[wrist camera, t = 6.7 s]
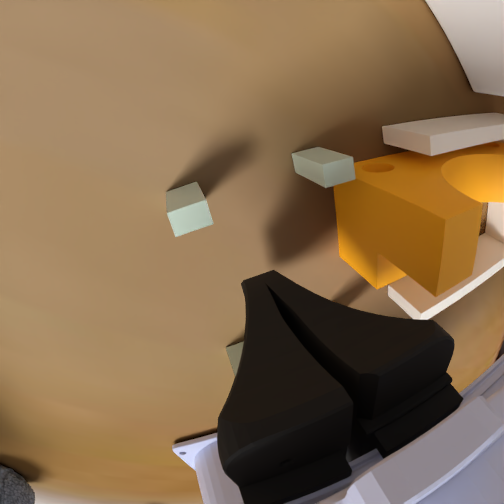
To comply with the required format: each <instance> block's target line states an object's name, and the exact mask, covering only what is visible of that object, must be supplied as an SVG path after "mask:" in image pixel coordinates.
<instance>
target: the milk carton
mask: <svg viewBox="0 0 504 504" xmlns="http://www.w3.org/2000/svg"><path fill="white" fill-rule="evenodd" d="M425 1H426V3H427V4H428V6H429V7H430V9H431V10H432V12H433V14H434V15H435V17H436V18H437V20H438V22H439V23H440V25H441V27H442V29H443V30H444V32H445V34H446V36H447V37H448V39H449V41H450V43H451V45H452V47H453V49H454V51H455V53H456V55H457V57H458V59H459V61H460V63H461V65H462V67H463V69H464V71H465V73H466V75H467V78H468V80H469V82H470V84H471V87H472V89H473V91H474V92H478V93H485V94H491V95H498V96H503V97H504V0H425Z"/></svg>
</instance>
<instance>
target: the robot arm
mask: <svg viewBox="0 0 504 504" xmlns="http://www.w3.org/2000/svg"><path fill="white" fill-rule="evenodd" d="M241 286H242V289H243V292H244V296H245V302H246V324H245V336H244V343H243V349H242V354H241V358H240V363H239V367H238V370H237V374H236V377H235V379H234V382H233V385H232V388H231V391H230V393H229V396H228V398H227V400H226V402H225V404H224V407H223V409H222V411H221V413H220V415H219V417H218V428H217V433H214V434H210V435H207V436H203V437H200V438H196V439H192V440H188V441H184V442H180V443H176V444H174V445H173V446H172V449H173V452H174V453H176V454H177V455H178V456H179V457H180V458H181V459H182V460H183V461H185V462H186V463H187V464H188V465H189V466H190V467H192V468H193V469H194V470H195V471H196V474H197V478H198V482H199V486H200V490H201V495H202V499H203V502H204V504H315V503H316V504H504V354H503V355H502V356H501V357H500V358H499V359H498V360H497V361H496V362H495V363H494V364H493V365H492V366H491V367H489V368H488V369H487V370H486V371H485V372H484V373H483V374H482V375H480V376H479V377H478V378H477V379H476V380H475V381H473V382H472V383H471V384H470V385H469V386H467V387H466V388H465V389H464V390H463V391H461V392H460V393H458V392H457V391H456V389H455V388H454V387H453V386H452V385H451V384H450V383H451V382H452V378H451V377H450V375H449V374H448V373H447V372H446V371H447V368H448V366H449V363H450V360H451V358H452V355H453V351H454V339H453V338H452V337H451V336H450V335H449V334H448V333H447V332H446V331H445V330H444V329H443V328H442V327H441V326H439V325H438V324H437V323H436V322H434V321H433V320H420V319H403V318H396V317H388V316H382V315H377V314H373V313H368V312H364V311H360V310H356V309H353V308H350V307H347V306H344V305H341V304H338V303H335V302H333V301H330V300H328V299H326V298H323V297H321V296H319V295H317V294H315V293H313V292H311V291H309V290H307V289H305V288H304V287H302V286H300V285H298V284H296V283H295V282H293V281H291V280H290V279H288V278H286V277H285V276H283V275H281V274H280V273H278V272H277V271H275V270H272V271H269V272H266V273H263V274H260V275H258V276H255V277H252V278H249V279H246V280H243V282H242V283H241Z"/></svg>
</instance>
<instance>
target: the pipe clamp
mask: <svg viewBox="0 0 504 504" xmlns="http://www.w3.org/2000/svg"><path fill="white" fill-rule="evenodd" d="M354 170H355V178H356V179H355V180H351V181H348V182H344V183H341V184H338V185H334V186H333V190H334V199H335V208H336V218H337V229H338V242H339V255H340V257H341V258H342V259H343V260H344V261H346V262H347V263H348V264H349V265H350V266H351V267H352V268H353V269H355V270H356V271H357V272H358V273H359V274H360V275H361V276H362V277H364V278H365V279H366V280H367V281H368V282H369V283H370V284H371V285H372V286H374V287H375V288H376V289H379V288H381V287H383V286H386V285H388V284H390V283H392V282H394V281H396V280H398V279H401V278H403V277H405V276H407V275H408V276H409V277H411V278H412V279H413V280H414V281H416V282H417V283H418V284H420V285H421V286H422V287H423V288H425V289H426V290H427V291H428V292H430V293H431V294H432V295H433V296H434V297H437V296H439V295H440V294H442V293H444V292H445V291H447V290H449V289H450V288H452V287H454V286H455V285H457V284H458V283H460V282H462V281H463V280H465V279H466V278H468V277H470V276H471V275H472V272H473V267H474V262H475V256H476V251H477V245H478V238H479V231H480V224H481V216H482V206H483V204H482V203H480V202H499V203H504V143H502V142H498V141H493V142H488V143H484V144H480V145H475V146H471V147H467V148H462V149H458V150H454V151H450V152H446V153H442V154H438V155H434V156H429V155H425V154H422V153H418V152H415V151H411V150H410V151H406V152H401V153H396V154H391V155H386V156H382V157H377V158H373V159H368V160H364V161H360V162H355V163H354Z"/></svg>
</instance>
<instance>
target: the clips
mask: <svg viewBox="0 0 504 504" xmlns="http://www.w3.org/2000/svg"><path fill="white" fill-rule="evenodd" d="M292 158H293V163H294V168H295V173H297V174H299V175H301V176H303V177H305V178H307V179H309V180H311V181H313V182H315V183H317V184H319V185H321V186H323V187H325V188H328V187H331V186H334V185H338V184H341V183H344V182H348V181H351V180H355V179H356V178H355V170H354V161H353V157H352V156H348V155H345V154H342V153H338V152H335V151H332V150H328V149H325V148H321V147H315V148H311V149H307V150H303V151H299V152H295V153H292Z"/></svg>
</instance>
